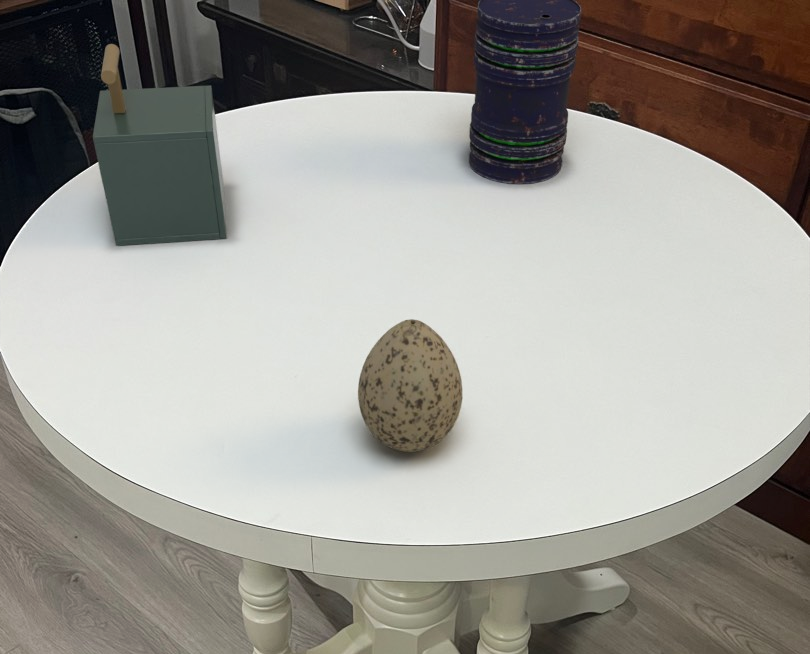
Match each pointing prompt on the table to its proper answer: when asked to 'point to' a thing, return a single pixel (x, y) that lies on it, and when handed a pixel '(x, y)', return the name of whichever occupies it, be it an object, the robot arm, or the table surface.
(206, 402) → the table surface
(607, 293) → the table surface
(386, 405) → the decorative egg
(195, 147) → the green box with handle
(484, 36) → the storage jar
